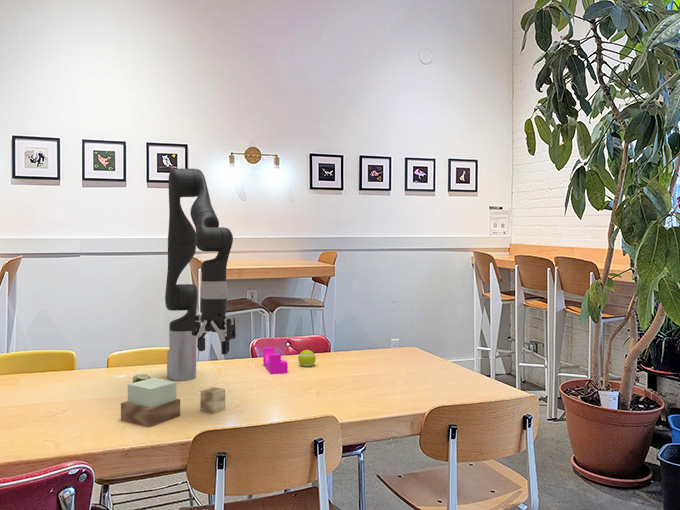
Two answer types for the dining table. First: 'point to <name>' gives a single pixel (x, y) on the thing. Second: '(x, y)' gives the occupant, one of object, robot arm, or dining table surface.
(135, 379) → the fruit
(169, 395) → the pale green square block
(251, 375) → the dining table surface
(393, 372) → the dining table surface
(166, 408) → the tower base
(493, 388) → the dining table surface
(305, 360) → the tennis ball
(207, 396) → the oak block
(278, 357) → the toy block
